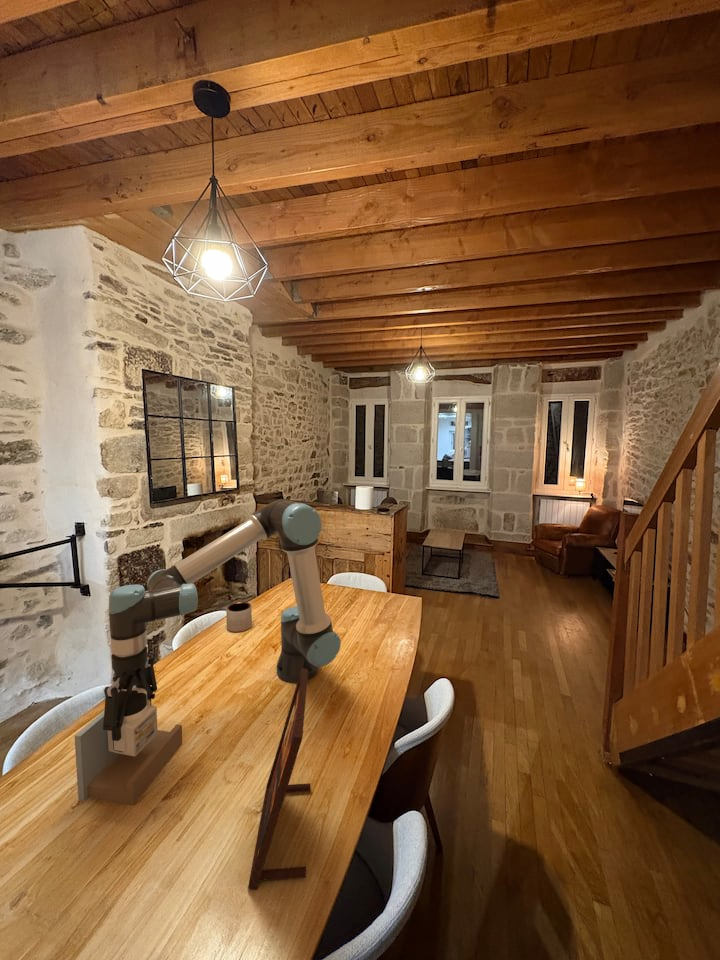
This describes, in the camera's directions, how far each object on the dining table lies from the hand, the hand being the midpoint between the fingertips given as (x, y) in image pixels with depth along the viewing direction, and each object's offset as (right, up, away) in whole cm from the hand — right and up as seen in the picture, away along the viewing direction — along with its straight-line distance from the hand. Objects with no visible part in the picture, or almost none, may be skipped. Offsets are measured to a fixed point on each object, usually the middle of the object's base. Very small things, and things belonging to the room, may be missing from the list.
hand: (133, 735), depth 95 cm
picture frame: (+41, -11, -14) cm, 44 cm away
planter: (+3, -2, +75) cm, 75 cm away
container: (0, -2, 0) cm, 2 cm away
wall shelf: (0, -9, +1) cm, 9 cm away
